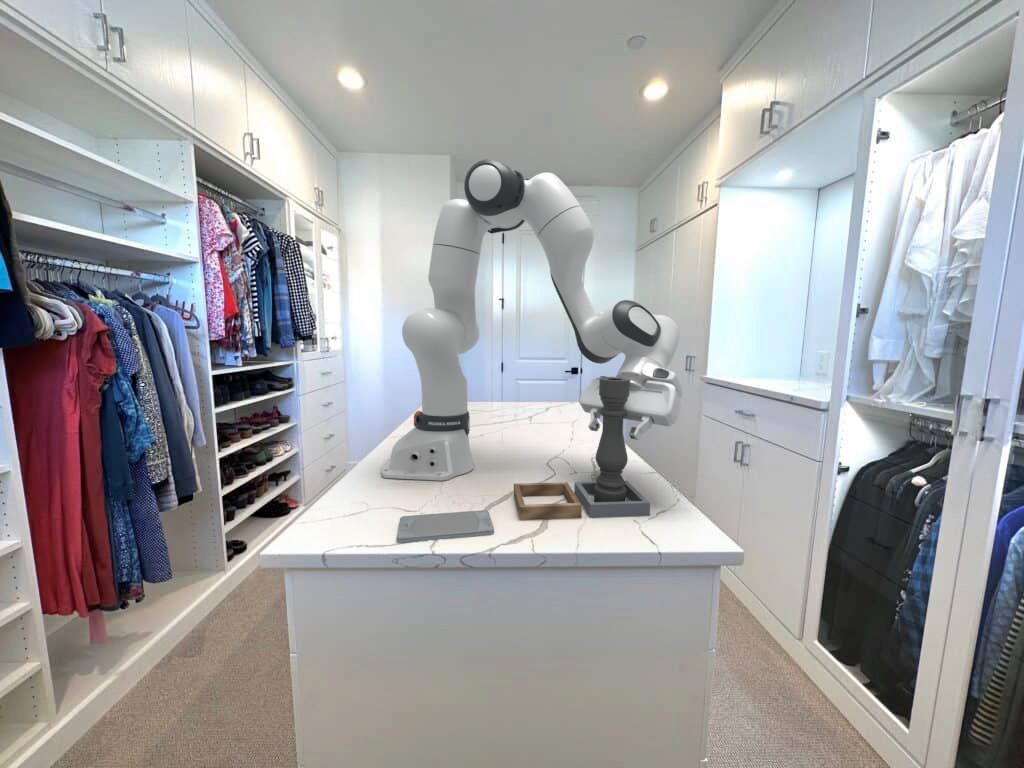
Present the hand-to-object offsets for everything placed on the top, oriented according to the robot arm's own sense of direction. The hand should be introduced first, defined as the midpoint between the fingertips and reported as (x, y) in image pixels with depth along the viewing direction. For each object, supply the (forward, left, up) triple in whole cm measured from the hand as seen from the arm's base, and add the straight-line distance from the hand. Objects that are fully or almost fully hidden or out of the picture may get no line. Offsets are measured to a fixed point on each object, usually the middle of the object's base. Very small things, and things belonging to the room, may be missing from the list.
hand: (612, 433), depth 77 cm
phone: (-32, -7, -15) cm, 36 cm away
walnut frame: (-13, 0, -14) cm, 19 cm away
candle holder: (0, 0, -15) cm, 15 cm away
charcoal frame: (0, 0, -14) cm, 14 cm away
